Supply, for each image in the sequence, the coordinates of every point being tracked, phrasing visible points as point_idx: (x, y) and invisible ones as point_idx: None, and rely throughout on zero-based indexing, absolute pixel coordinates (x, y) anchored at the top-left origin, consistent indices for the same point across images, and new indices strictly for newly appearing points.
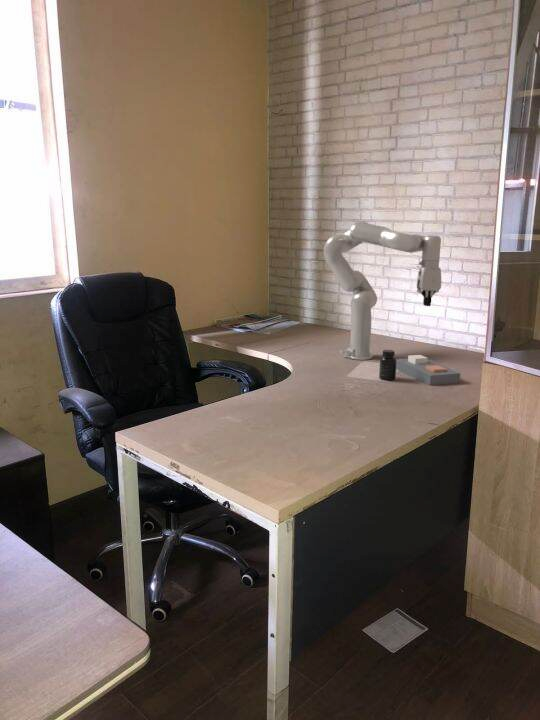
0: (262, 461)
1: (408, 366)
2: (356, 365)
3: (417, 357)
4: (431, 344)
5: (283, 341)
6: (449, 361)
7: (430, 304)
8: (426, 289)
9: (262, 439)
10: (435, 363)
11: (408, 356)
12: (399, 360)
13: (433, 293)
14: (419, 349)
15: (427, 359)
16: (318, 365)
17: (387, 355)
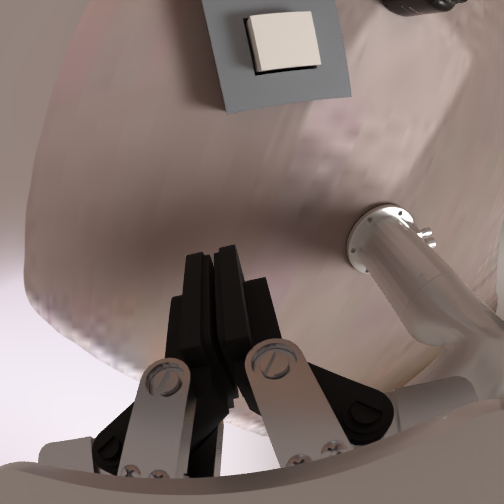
0: None
1: (334, 6)
2: (426, 148)
3: (294, 27)
4: (127, 360)
5: (433, 348)
6: (103, 182)
7: (186, 263)
8: (422, 456)
9: None
10: (212, 17)
11: (319, 62)
12: (342, 77)
13: (126, 428)
14: (167, 322)
15: (249, 17)
16: (486, 167)
17: None
